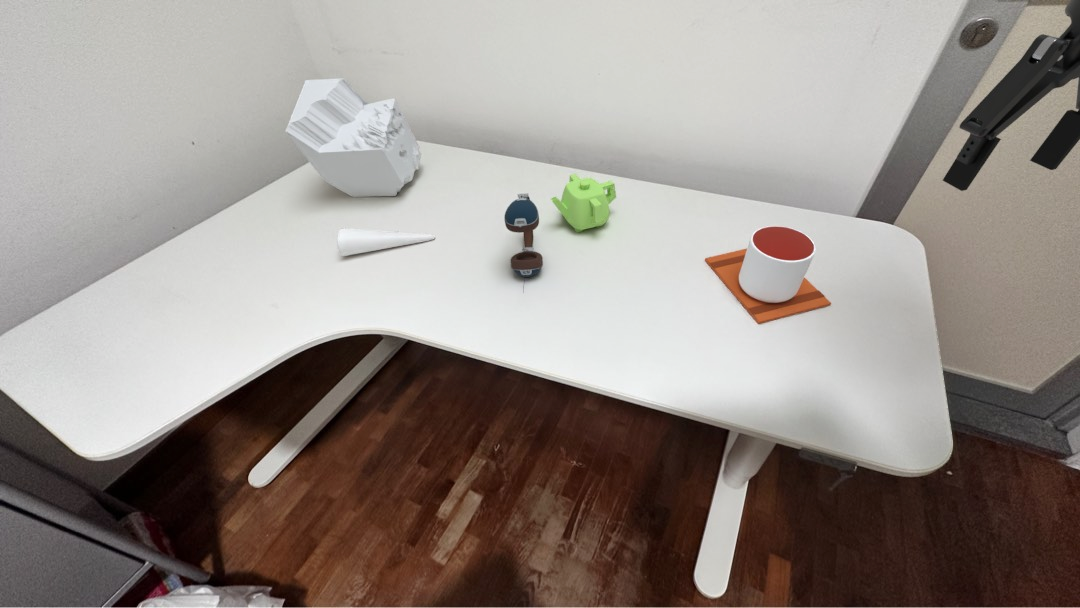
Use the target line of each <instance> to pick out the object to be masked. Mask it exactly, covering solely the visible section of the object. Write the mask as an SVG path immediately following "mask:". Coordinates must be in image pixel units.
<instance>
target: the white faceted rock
mask: <svg viewBox="0 0 1080 608" xmlns="http://www.w3.org/2000/svg"><path fill="white" fill-rule="evenodd" d="M303 83H304V84H303V86H302V89H301V91H300V94H299V96H298V99H297V101H296V104H295V106H294V109H293V111H292V114H291V115H290V119H289V121H288V124H287V126H286V128H285V133H286V135H287V136H288V137H289V138H290V140H291V141H292V143H294V145H295V146H296V148H297V149H298V150H299V151H300V152H301V153H302V155H303V157H305V159H306V160H307V161H308V163H309V164H310V165H311V166H312V168H314V170H315V171H316V173H317V174H318V175H319V176H320V177H321V179H322V180H323V182H325V183H327V184H329V185H331V186H333V187H334V188H336V189H337V190H339V191H341V192H343V193H344V194H346V195H347V196H350V197H352V198H362V197H363V198H364V197H365V198H366V197H395V196H397V195H398V194H397V193H400V192H401V189H402V188H403V187H404V186H405V185H406V184H408V183H409V182H411V181H413V179H414V175H415V171H419V167H420V162H421V157H422V153H421V151H420V145H419V143H418V141H417V139H416V137H415V135H414V133H413V131H412V129H411V127H410V125H409V123H408V121H407V119H406V117H405V115H404V113H403V111H402V108H401V107H400V105H399V102H398V101H397V99H396V98H395V97H394V98H388V99H384V100H380V101H375V102H370V103H369V102H368V101H367V100H366V99H364V98H363V97H362V96H361V95H360V94H359V93H358V92H357V91H356V90H355V89H354V88H353V87H352V85H351V83H349V81H348V80H347V78H346V77H343V78H341V77H340V78H322V79H321V78H320V79H306V80H304V82H303Z"/></svg>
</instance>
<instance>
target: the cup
mask: <svg viewBox="0 0 1080 608" xmlns="http://www.w3.org/2000/svg"><path fill="white" fill-rule="evenodd" d="M816 247H817V246H816V244H815V242H814V241H813V239H812V238H811V237H809V235H807V234H806V233H804V232H802V231H800V230H798V229H795V228H792V227H788V226H782V225H767V226H763V227H760V228H757V229H756V230H755V231H753V233H752V234H751V235H750V238H749V242H748V244H747V248H746V249H747V251H746V254H745V257H744V261H743V264H742V267H741V270H740V273H739V283H740V286H741V287H742V289H743V290H744V291H745V292H746V293H747V294H748V295H750V296H751V297H753V298H755V299H757V300H760V301H764V302H769V303H779V302H784V301H787V300H789V299H791V298H793V297H794V296H795V295H796V293H797V292H798V290H799V288H800V285H801V283H802V281H803V279H804V277H806V274H807V272H808V270H809V267H810V265H811V263H812V261H813V258H814V256H815V254H816V252H817V248H816Z"/></svg>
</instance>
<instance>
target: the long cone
mask: <svg viewBox="0 0 1080 608" xmlns="http://www.w3.org/2000/svg"><path fill="white" fill-rule="evenodd" d="M434 239H436V236H435V235H434V234H432V233H420V232H419V233H418V232H406V231H405V232H404V231H403V232H402V231H395V230H394V231H393V230H379V229H364V228H363V229H362V228H349V227H348V228H347V227H345V228H341V229H339V230H338V233H337V239H336V244H337V245H336V246H337V251H338V254H339V255H340V256H341V257H347V256H353V255H359V254H362V253H363V254H364V253H369V252H374V251H379V250H386V249H391V248H396V247H402V246H408V245H413V244H419V243H424V242H428V241H433V240H434Z"/></svg>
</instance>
